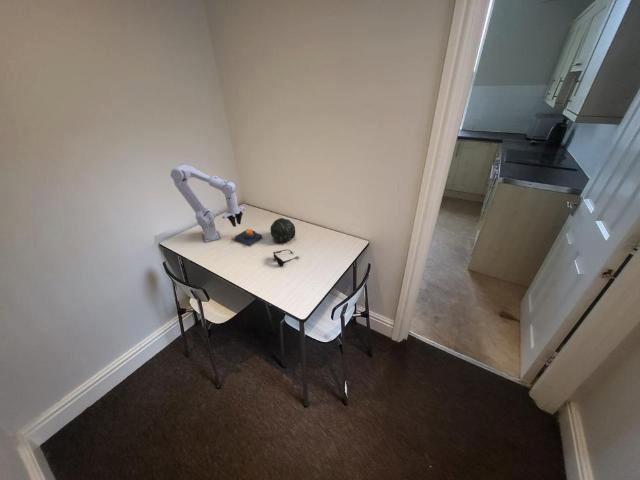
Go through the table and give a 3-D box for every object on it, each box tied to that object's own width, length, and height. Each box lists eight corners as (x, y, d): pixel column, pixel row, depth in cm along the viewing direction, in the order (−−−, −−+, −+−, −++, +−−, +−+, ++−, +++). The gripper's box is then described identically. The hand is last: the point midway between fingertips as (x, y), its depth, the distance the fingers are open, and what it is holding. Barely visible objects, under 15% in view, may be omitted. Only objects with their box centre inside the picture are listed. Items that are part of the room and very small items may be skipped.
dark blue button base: (235, 239, 152) (234, 233, 150) (248, 232, 159) (247, 226, 157) (249, 246, 147) (248, 239, 144) (262, 238, 154) (261, 231, 151)
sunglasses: (270, 258, 136) (270, 250, 134) (289, 253, 143) (290, 245, 141) (280, 268, 129) (280, 260, 127) (300, 262, 136) (300, 254, 134)
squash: (294, 221, 160) (277, 208, 150) (303, 233, 149) (286, 220, 139) (279, 238, 161) (261, 226, 151) (287, 251, 150) (268, 239, 140)
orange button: (244, 234, 150) (244, 231, 149) (249, 231, 152) (249, 228, 151) (249, 236, 148) (248, 233, 147) (254, 233, 151) (254, 230, 149)
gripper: (226, 210, 134) (231, 232, 141) (247, 200, 144) (250, 221, 152) (217, 207, 137) (223, 228, 145) (238, 198, 147) (242, 218, 155)
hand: (236, 225), depth 148 cm, fingers open, 3 cm apart
